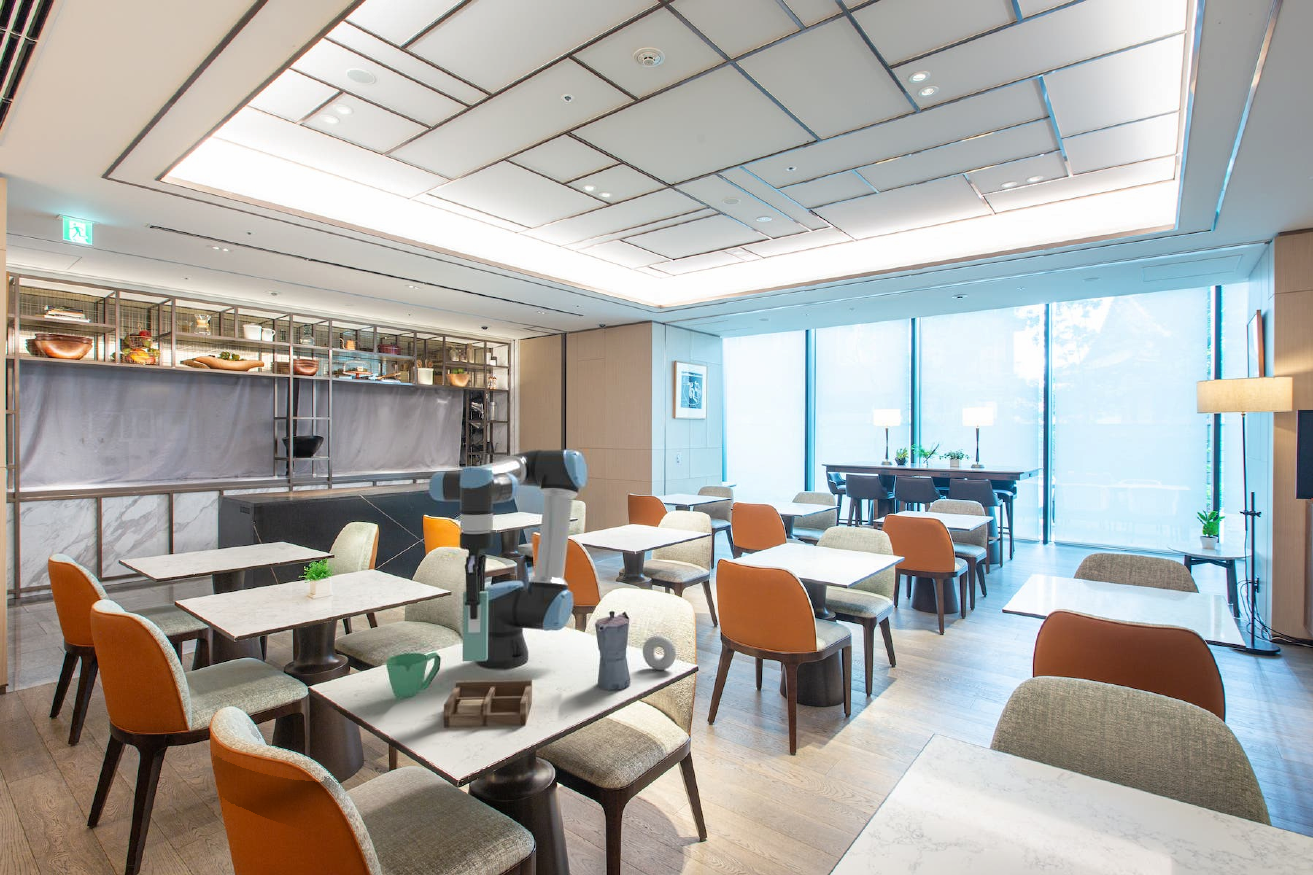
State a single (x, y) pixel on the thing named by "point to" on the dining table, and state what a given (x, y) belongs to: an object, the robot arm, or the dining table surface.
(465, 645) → the panel
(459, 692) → the rack
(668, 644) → the donut
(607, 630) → the moka pot
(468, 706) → the offcut top
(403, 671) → the mug
